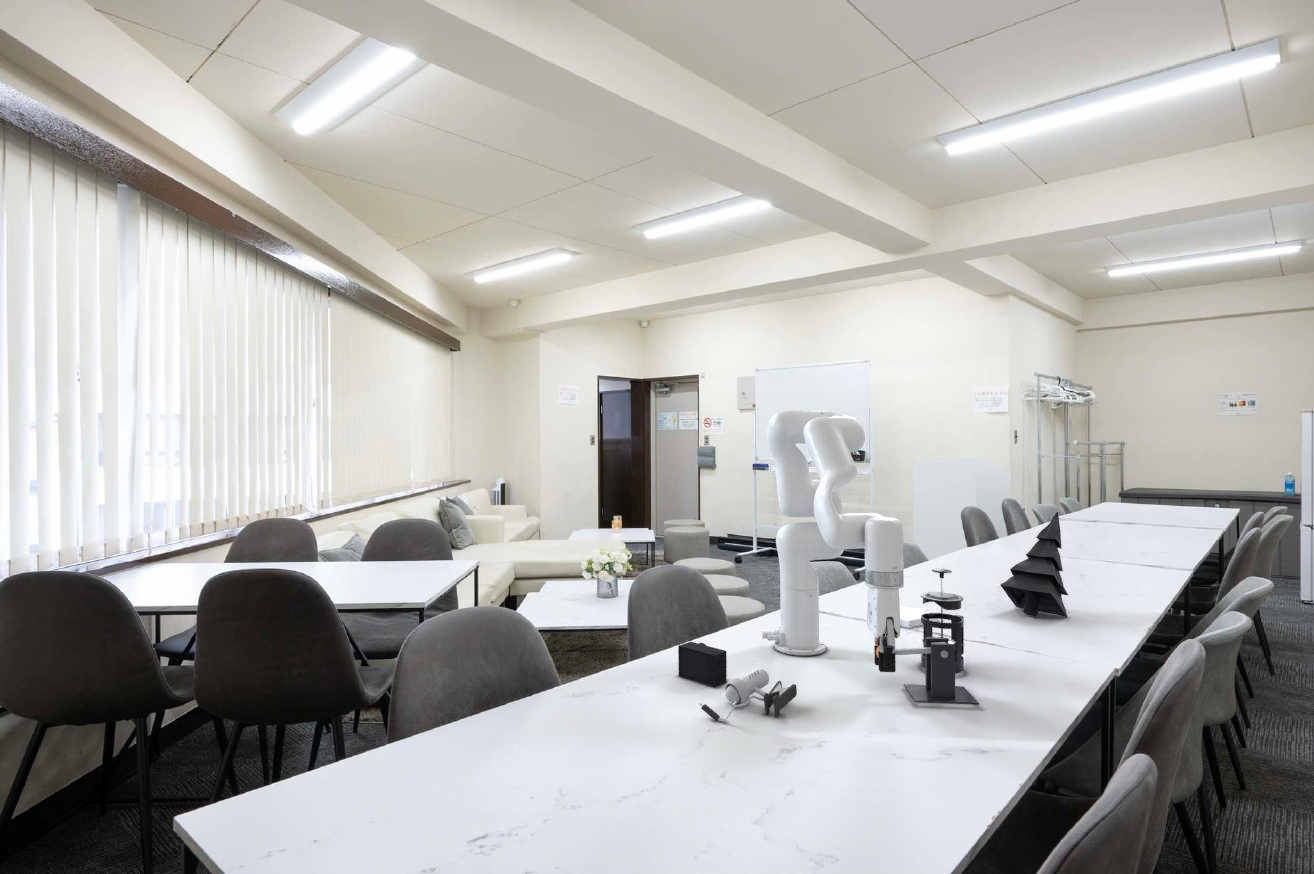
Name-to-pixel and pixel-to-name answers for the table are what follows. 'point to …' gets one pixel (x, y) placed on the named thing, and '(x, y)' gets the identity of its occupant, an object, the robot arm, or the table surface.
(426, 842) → the table surface
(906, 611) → the mounting plate
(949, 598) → the french press
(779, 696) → the clip-on lamp
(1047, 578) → the decorative tree
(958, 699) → the switch bracket
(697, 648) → the digital camera
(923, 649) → the switch lever
